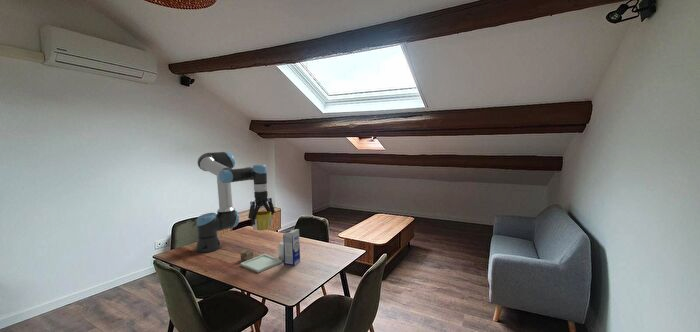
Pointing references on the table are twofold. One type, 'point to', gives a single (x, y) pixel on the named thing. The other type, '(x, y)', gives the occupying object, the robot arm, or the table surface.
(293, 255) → the milk carton
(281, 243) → the white rounded capsule
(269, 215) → the plant pot
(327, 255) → the table surface
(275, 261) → the tray
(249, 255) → the walnut block
